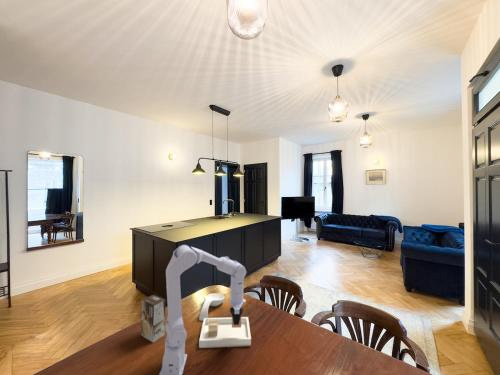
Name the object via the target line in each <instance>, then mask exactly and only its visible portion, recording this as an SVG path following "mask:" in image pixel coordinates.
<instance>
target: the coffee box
mask: <svg viewBox="0 0 500 375" xmlns="http://www.w3.org/2000/svg"><path fill="white" fill-rule="evenodd" d="M140 323H141V324H140V336H141V337H143V338H144V339H146V340H148V341H150V342H151V343H155V342H157V341H158V340H159V339H161V338H162V337H164V336H165V332H166V331H165V324H166V298H162V297H160V296H158V295H155V294H151V295H150V296H147V297H145V298H144V299H142V300H141V322H140Z"/></svg>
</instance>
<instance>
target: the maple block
mask: <svg viewBox="0 0 500 375" xmlns="http://www.w3.org/2000/svg"><path fill="white" fill-rule="evenodd" d="M217 332H218V320H209V326H208V337H210V336H217Z"/></svg>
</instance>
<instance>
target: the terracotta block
mask: <svg viewBox="0 0 500 375" xmlns="http://www.w3.org/2000/svg"><path fill="white" fill-rule="evenodd" d="M231 317H232V316H231ZM241 317H242V316H241ZM241 317H240V321H239V325H234V323H233V317H232V328H238V327H241Z"/></svg>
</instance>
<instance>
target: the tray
mask: <svg viewBox="0 0 500 375" xmlns="http://www.w3.org/2000/svg"><path fill="white" fill-rule="evenodd" d="M209 320H218V332H217V336H210V337H208V326H209ZM199 336H200V337H199V341H198V348H199V349H204V348H205V349H206V348H233V347H251V346H252V336H251V328H250V321H249V316H241V327H238V328H232V316H231V317H228V316H227V317H208V318H204V320H203V322H202V325H201V330H200V335H199Z"/></svg>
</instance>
